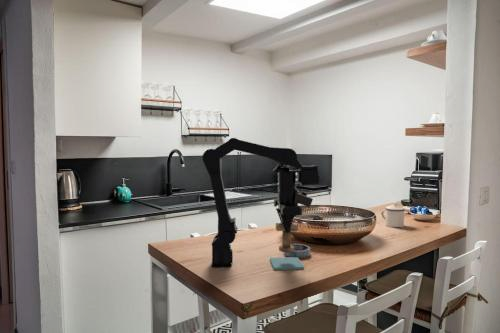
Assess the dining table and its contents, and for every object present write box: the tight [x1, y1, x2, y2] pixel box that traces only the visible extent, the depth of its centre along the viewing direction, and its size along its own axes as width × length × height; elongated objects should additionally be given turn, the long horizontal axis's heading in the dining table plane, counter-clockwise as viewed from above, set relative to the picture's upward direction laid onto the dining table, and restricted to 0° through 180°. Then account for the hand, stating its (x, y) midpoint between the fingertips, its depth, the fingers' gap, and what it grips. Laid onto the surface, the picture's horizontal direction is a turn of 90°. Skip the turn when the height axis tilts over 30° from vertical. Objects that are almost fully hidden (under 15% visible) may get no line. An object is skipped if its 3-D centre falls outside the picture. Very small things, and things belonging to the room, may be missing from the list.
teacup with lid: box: [380, 202, 406, 228], centre depth 179 cm, size 12×9×12 cm
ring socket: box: [283, 243, 311, 259], centre depth 132 cm, size 10×10×2 cm
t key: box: [275, 222, 299, 253], centre depth 121 cm, size 7×5×9 cm
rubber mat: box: [269, 256, 305, 271], centre depth 121 cm, size 10×10×1 cm
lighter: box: [310, 213, 324, 221], centre depth 156 cm, size 8×3×10 cm, turn 47°
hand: (286, 231), depth 120 cm, fingers closed on t key, 3 cm apart
